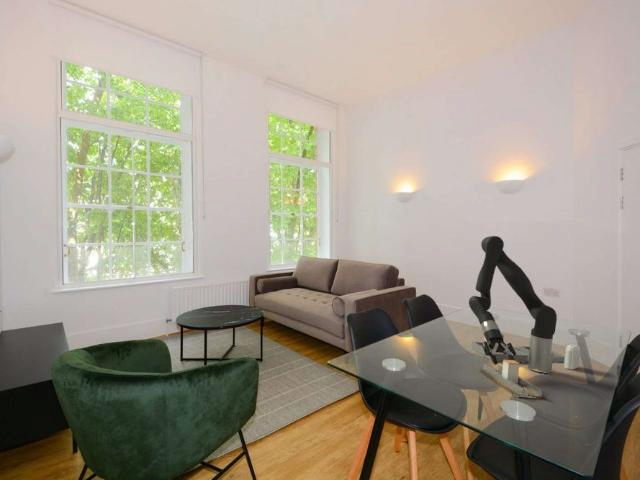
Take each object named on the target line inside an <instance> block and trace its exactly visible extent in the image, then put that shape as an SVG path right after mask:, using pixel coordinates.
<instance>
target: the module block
mask: <svg viewBox="0 0 640 480" xmlns="http://www.w3.org/2000/svg"><path fill="white" fill-rule="evenodd" d="M502 366H503V370H502V375H503V376H505V377H506V378H508V379H509V380H511V381H512V382H514V383H515V384H518V376H519V372H520V370H519V369H520V362H516V361H514V360H503V362H502Z"/></svg>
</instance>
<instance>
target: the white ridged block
mask: <svg viewBox="0 0 640 480" xmlns="http://www.w3.org/2000/svg"><path fill="white" fill-rule="evenodd" d="M580 354H581V347H580V346H579V345H577V344H575V343H574V344H573V343H571V344H569V345H567V346H566V347H565V349H564V356H565V359H564V362H563V367H564V369H566V370H575V369H578V368H579V367H580V356H581V355H580Z"/></svg>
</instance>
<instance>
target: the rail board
mask: <svg viewBox="0 0 640 480" xmlns="http://www.w3.org/2000/svg"><path fill="white" fill-rule="evenodd" d="M502 370H503V365H501V364H497V369H493V368H492V367H490V366H489V365H488V364H484V363H483V365H482V369H479V373H481V374H483V375H484V376H486V377H487V378H489V380H491V381H493V382H494V383H495V384H497V385H498V386H500V387H501V388H503V389H504V390H506V391H507V392H508V391H509V392H508V393H510V392H511V393H514V394H516V395H518V396H521V395H524V393H525V389H523V388H524V387H525V388H527V389H529V390H530V391H531V395H529V394H530V393H529V394H528V396H532V397H536V398H541V399H540V400H545V399H546V396H545V395H544V394H543V389H541V388H539V387H537V386H536V385H535V384H533V383H531V382H529V381H528V380H526V379H524V378H522V376H519V375H518V384H515V383H514V382H512V381H511V380H509V379H508V378H506V377H505V376H503V375H502ZM511 393H510V394H511Z"/></svg>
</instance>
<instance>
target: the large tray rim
mask: <svg viewBox="0 0 640 480" xmlns="http://www.w3.org/2000/svg"><path fill="white" fill-rule="evenodd" d="M484 342H485V341H472V342H471V349H472V350H473V351H475V352H477V353H479V354H481V355H482V356H484V357H486V358H487V359H489V360H490V361H492V359H491V357H490V356H488V355H487V356H486V355H485V352H484V349H483V346H482V344H483V343H484ZM488 347H489V346H488ZM489 350H490V351H491V348H490V347H489ZM514 350H515V352H516V355H515V356H514V359H515V361H516V362H518V363H520V362H528V360H529V356H528V355H526V354H524V353H522V352H520V351H519V349H515V348H514ZM505 352H506V350H505ZM508 354H509V353H508ZM494 355H495V356H496V358H497V361H498V362H500V361H503V360H509V357H508V356H506V355H504V354H503V353H499V352H498V353H496V352H495V354H494ZM509 355H510V354H509Z"/></svg>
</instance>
